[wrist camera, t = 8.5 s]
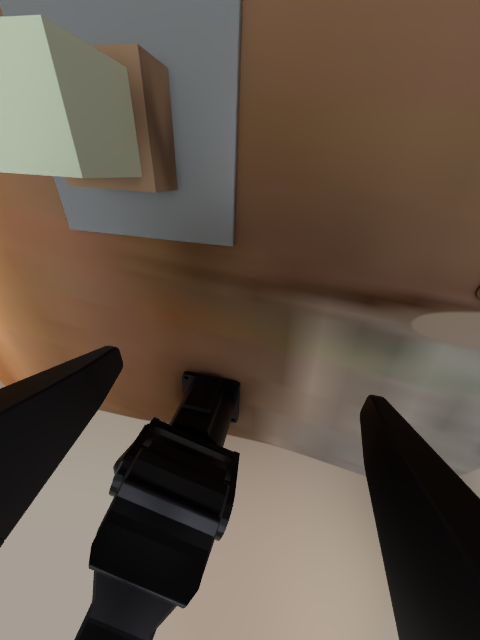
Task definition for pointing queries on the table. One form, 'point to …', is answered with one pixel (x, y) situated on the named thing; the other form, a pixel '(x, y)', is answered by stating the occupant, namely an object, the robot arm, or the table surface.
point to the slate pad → (186, 105)
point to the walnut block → (144, 123)
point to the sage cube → (62, 105)
